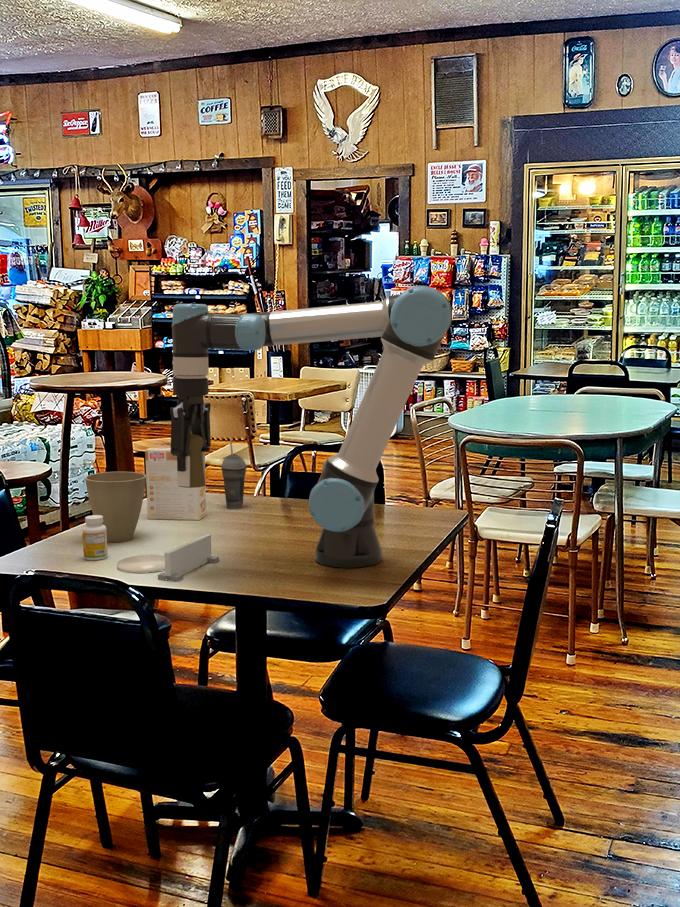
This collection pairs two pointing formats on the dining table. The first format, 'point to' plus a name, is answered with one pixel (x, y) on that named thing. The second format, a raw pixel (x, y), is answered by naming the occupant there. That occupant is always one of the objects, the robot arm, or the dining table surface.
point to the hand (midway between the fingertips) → (191, 483)
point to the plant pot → (117, 501)
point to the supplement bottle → (94, 538)
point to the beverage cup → (234, 479)
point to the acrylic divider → (187, 558)
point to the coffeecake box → (170, 489)
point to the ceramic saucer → (142, 564)
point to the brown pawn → (196, 462)
